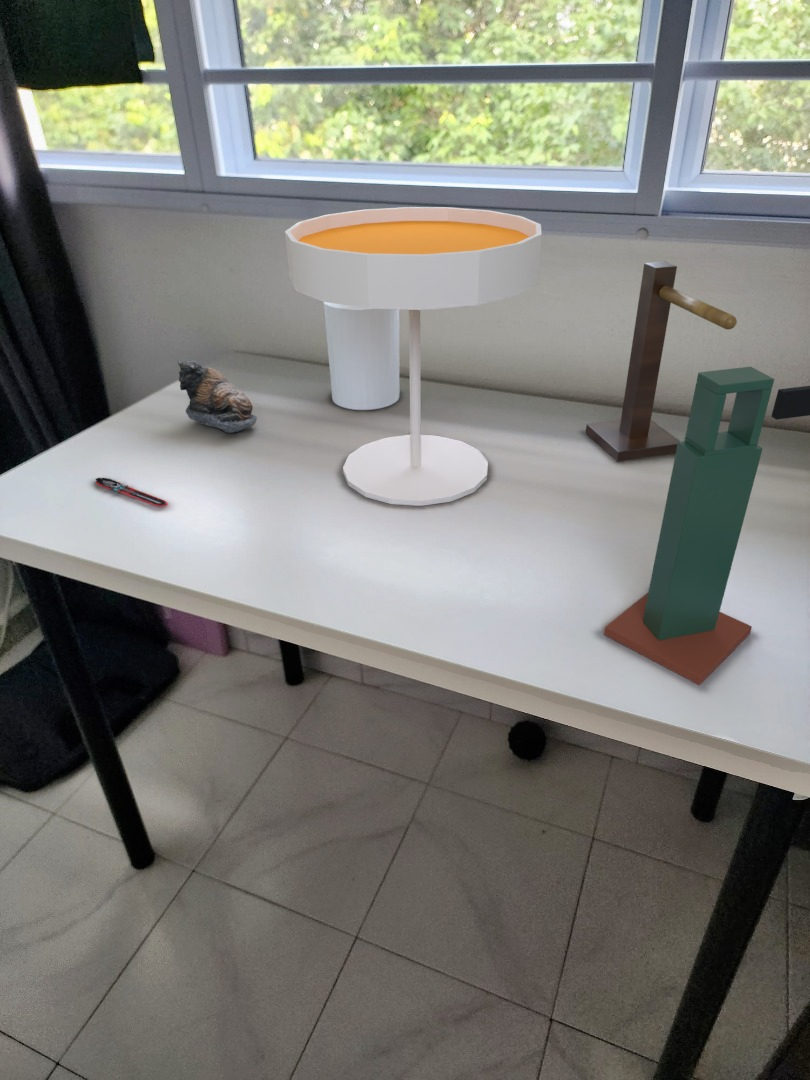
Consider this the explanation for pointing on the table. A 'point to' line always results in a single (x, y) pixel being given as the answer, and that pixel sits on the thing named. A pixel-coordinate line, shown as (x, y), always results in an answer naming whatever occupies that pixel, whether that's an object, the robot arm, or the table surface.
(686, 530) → the green block with loop
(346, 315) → the bottle
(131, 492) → the pen
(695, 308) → the hook stand
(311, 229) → the white stemmed bowl
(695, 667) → the cork pad
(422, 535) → the table surface
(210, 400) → the bison figurine
